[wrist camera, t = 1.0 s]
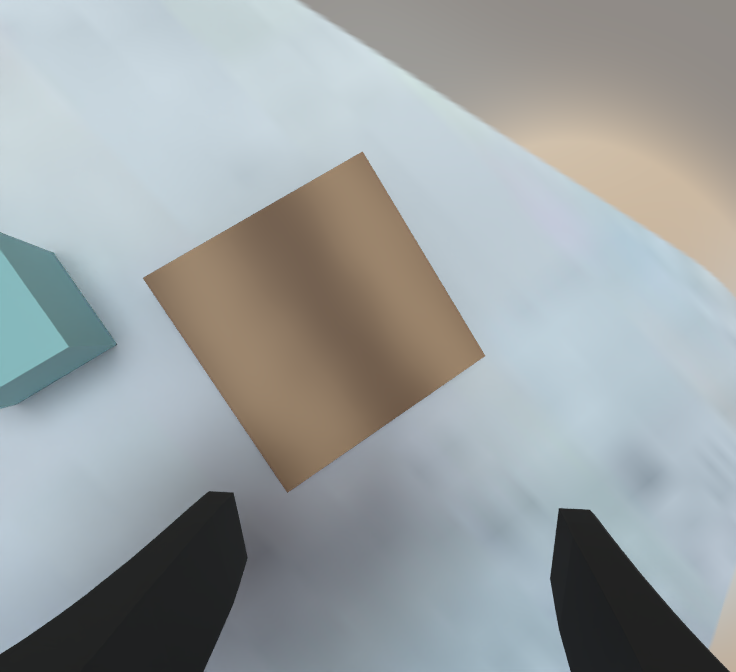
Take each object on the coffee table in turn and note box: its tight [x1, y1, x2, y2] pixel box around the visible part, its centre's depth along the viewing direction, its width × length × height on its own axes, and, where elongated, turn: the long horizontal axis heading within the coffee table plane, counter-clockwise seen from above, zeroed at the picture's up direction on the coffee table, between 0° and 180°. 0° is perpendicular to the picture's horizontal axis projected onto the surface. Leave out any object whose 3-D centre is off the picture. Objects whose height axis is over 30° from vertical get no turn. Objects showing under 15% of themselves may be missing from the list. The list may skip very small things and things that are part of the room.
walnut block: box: [143, 152, 485, 493], centre depth 21 cm, size 10×10×3 cm
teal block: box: [0, 232, 117, 409], centre depth 18 cm, size 4×4×5 cm
